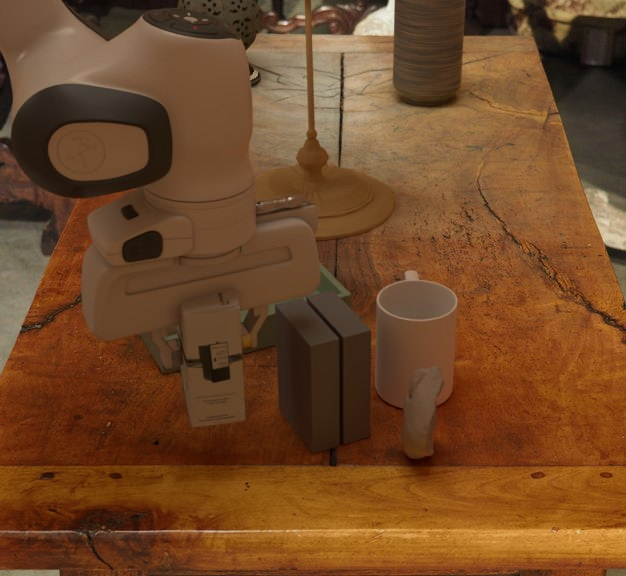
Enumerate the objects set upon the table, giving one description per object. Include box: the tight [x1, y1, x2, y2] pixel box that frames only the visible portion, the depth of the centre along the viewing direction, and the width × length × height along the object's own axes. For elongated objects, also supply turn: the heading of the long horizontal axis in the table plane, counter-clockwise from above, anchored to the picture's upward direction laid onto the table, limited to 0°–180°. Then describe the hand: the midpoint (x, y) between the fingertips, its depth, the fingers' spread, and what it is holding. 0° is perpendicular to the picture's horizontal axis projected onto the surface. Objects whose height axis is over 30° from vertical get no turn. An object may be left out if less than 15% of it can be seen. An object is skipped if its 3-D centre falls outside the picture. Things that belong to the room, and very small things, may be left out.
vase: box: [392, 0, 467, 107], centre depth 178 cm, size 12×12×23 cm
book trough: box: [138, 261, 352, 375], centre depth 118 cm, size 22×13×4 cm, turn 118°
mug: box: [374, 270, 459, 409], centre depth 108 cm, size 12×8×10 cm, turn 3°
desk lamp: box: [221, 0, 396, 241], centre depth 136 cm, size 31×23×40 cm
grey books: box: [275, 290, 372, 455], centre depth 101 cm, size 6×8×12 cm
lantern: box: [176, 0, 262, 88], centre depth 184 cm, size 14×14×25 cm
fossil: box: [401, 366, 444, 460], centre depth 97 cm, size 6×4×10 cm, turn 167°
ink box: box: [177, 289, 246, 428], centre depth 93 cm, size 9×5×12 cm, turn 15°
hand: (209, 355), depth 94 cm, fingers closed on ink box, 5 cm apart
